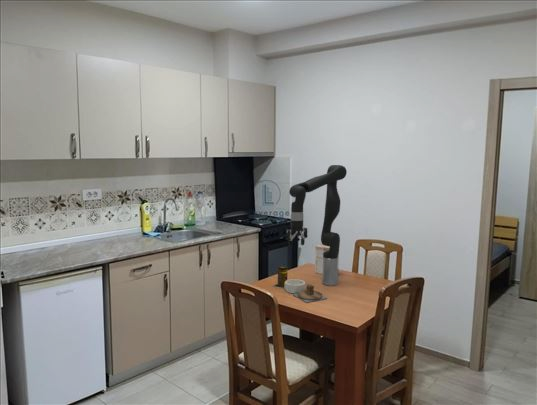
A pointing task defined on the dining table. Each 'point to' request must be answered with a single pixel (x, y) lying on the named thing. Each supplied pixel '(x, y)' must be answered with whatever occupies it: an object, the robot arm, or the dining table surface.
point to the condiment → (281, 277)
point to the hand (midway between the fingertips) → (296, 245)
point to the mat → (309, 300)
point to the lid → (310, 294)
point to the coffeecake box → (321, 258)
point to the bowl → (294, 286)
